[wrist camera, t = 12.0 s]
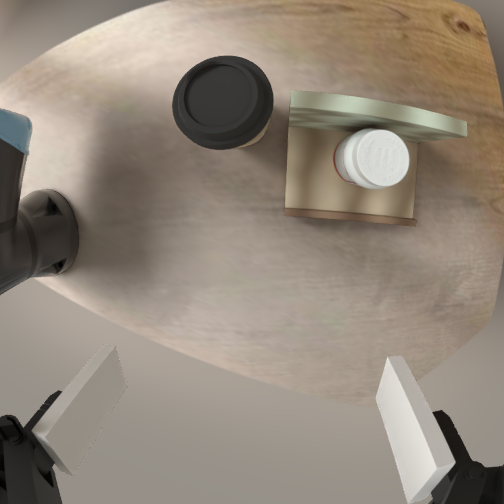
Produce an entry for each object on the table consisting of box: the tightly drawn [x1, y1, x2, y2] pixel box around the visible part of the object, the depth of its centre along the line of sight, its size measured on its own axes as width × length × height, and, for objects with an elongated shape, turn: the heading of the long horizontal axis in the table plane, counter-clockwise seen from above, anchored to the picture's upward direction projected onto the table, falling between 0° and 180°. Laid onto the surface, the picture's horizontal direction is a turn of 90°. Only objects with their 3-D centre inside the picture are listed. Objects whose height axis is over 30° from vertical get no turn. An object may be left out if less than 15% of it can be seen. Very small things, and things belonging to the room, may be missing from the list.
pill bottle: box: [333, 128, 409, 189], centre depth 29 cm, size 6×6×11 cm
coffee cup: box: [172, 56, 273, 150], centre depth 29 cm, size 9×9×15 cm
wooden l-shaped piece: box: [285, 90, 467, 227], centre depth 30 cm, size 17×12×14 cm
